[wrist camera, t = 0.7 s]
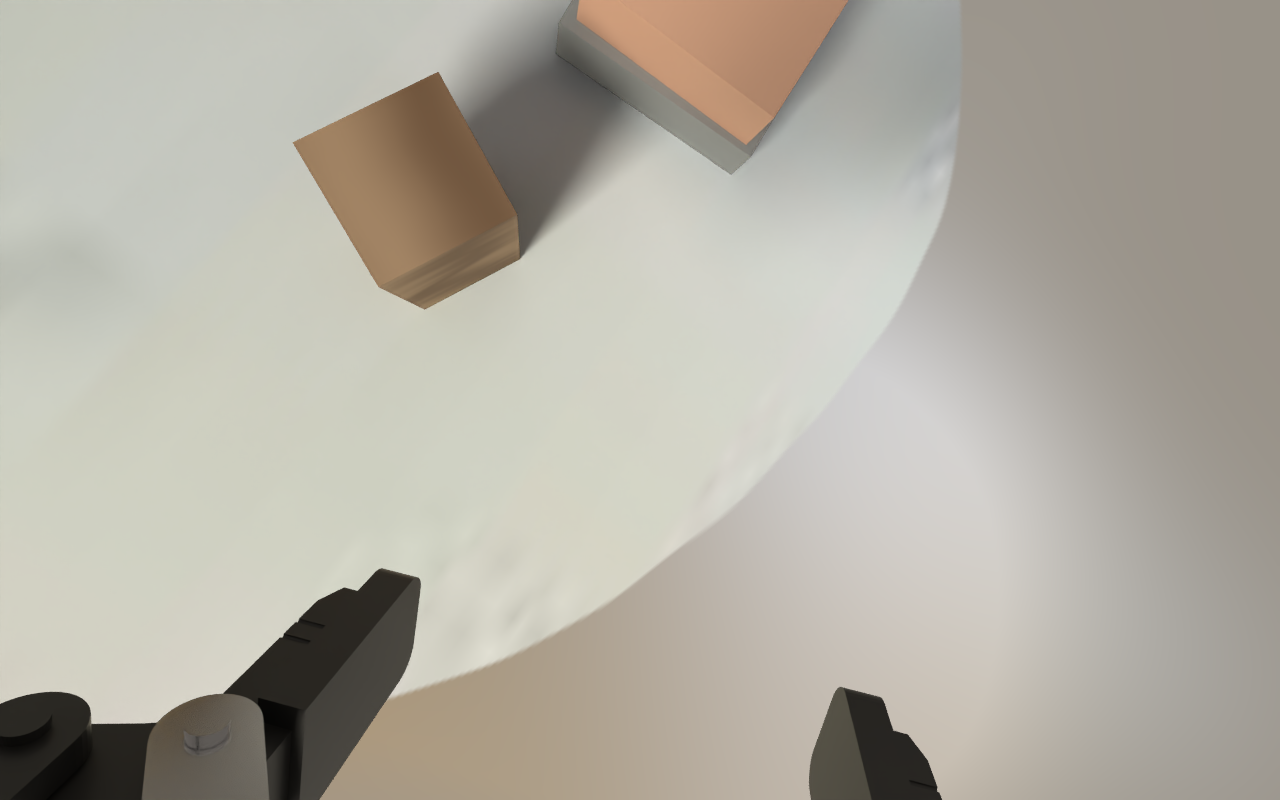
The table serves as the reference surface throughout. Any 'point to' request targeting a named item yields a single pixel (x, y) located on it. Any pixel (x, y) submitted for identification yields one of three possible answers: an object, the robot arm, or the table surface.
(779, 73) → the tower top
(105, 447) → the table surface
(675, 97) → the tower bottom
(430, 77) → the tall block
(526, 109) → the table surface
